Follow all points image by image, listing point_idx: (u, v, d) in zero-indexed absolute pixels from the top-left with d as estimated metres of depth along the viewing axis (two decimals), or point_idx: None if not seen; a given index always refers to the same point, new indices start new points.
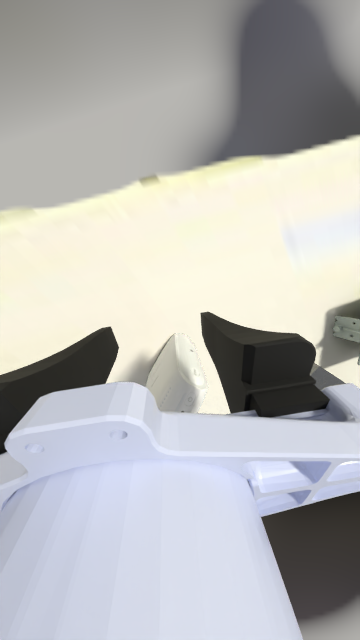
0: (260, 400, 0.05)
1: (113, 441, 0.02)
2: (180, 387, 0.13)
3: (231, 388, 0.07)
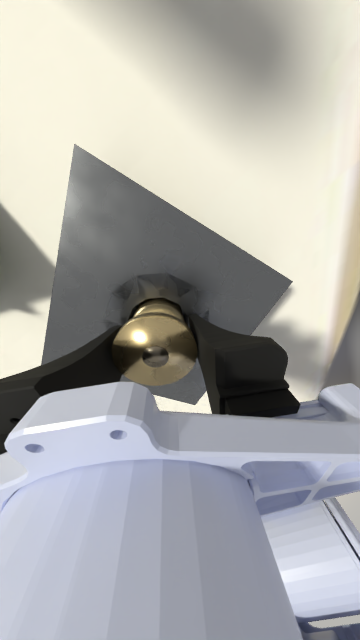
0: (232, 405, 0.05)
1: (113, 441, 0.02)
2: None
3: (211, 391, 0.07)
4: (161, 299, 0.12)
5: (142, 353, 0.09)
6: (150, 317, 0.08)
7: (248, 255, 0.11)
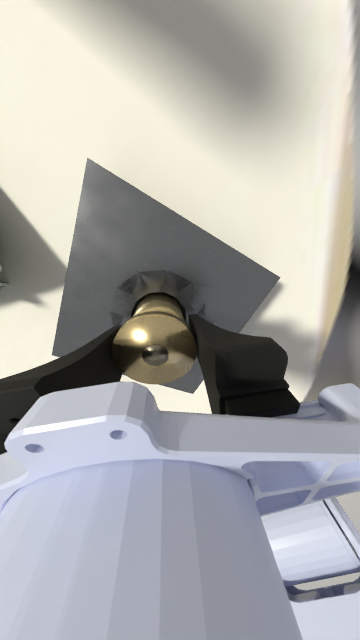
0: (232, 405, 0.05)
1: (113, 441, 0.02)
2: None
3: (211, 391, 0.07)
4: (161, 298, 0.12)
5: (142, 351, 0.09)
6: (150, 316, 0.08)
7: (239, 253, 0.12)
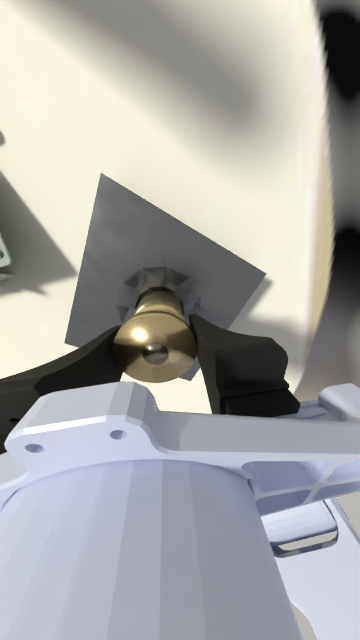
0: (232, 405, 0.05)
1: (113, 441, 0.02)
2: None
3: (211, 391, 0.07)
4: (161, 298, 0.12)
5: (143, 350, 0.09)
6: (150, 315, 0.08)
7: (229, 252, 0.14)
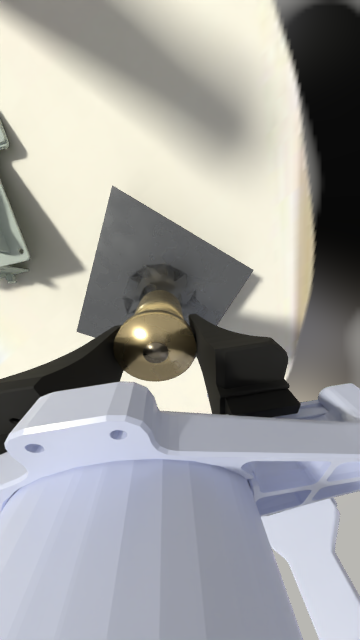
0: (232, 404, 0.05)
1: (113, 441, 0.02)
2: None
3: (211, 391, 0.07)
4: (161, 297, 0.12)
5: (143, 349, 0.09)
6: (150, 314, 0.08)
7: (221, 252, 0.16)
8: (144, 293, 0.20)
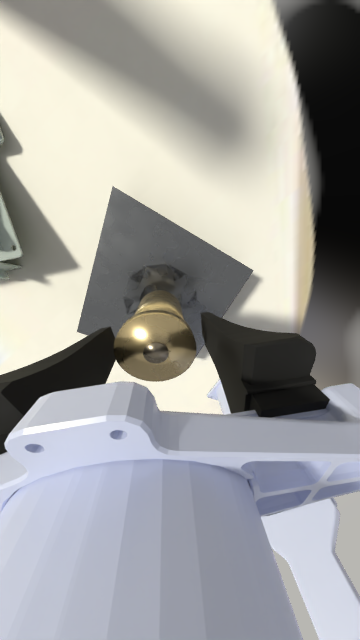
0: (260, 400, 0.05)
1: (113, 441, 0.02)
2: None
3: (231, 388, 0.07)
4: (161, 298, 0.13)
5: (143, 349, 0.09)
6: (151, 314, 0.08)
7: (221, 252, 0.16)
8: (144, 293, 0.20)
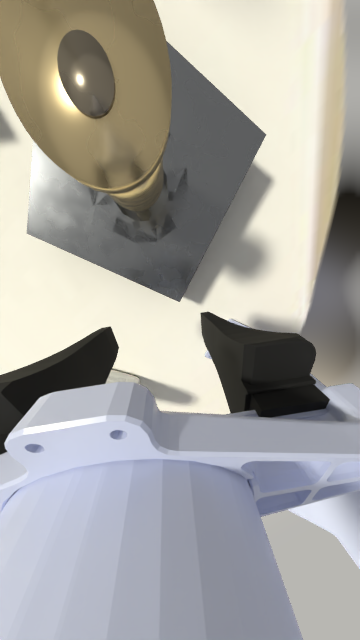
0: (260, 400, 0.05)
1: (113, 441, 0.02)
2: None
3: (231, 388, 0.07)
4: None
5: (60, 64, 0.05)
6: None
7: (221, 94, 0.11)
8: None
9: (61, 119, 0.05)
